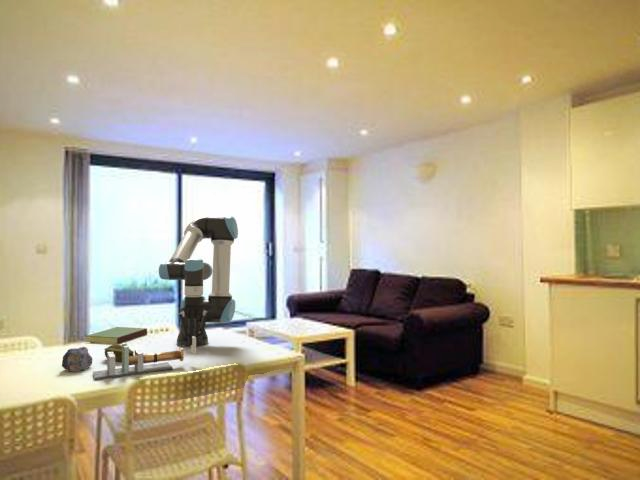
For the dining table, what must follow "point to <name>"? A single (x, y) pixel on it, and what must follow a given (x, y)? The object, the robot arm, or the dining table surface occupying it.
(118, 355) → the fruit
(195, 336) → the robot arm
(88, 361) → the rock
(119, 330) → the hardcover book
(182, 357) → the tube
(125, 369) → the collar rail
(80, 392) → the dining table surface
